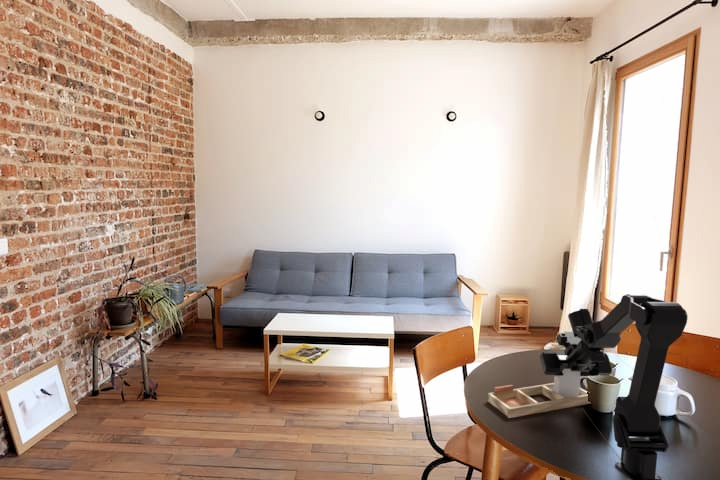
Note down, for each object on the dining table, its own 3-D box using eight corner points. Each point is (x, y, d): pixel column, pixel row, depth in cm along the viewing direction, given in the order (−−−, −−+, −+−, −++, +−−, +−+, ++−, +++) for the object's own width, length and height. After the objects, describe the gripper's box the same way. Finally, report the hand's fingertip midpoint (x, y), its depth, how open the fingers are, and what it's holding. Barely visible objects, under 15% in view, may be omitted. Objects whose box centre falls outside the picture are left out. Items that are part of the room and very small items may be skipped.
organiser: (592, 403, 131) (593, 389, 131) (509, 418, 122) (509, 404, 122) (566, 388, 141) (567, 376, 140) (487, 401, 132) (488, 388, 131)
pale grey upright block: (578, 400, 133) (581, 359, 131) (558, 400, 133) (560, 359, 131) (573, 395, 136) (575, 355, 135) (553, 394, 136) (555, 355, 135)
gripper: (610, 326, 128) (588, 349, 140) (544, 325, 128) (528, 349, 140) (623, 363, 121) (599, 385, 133) (554, 363, 121) (536, 384, 133)
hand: (565, 374), depth 135 cm, fingers closed on pale grey upright block, 6 cm apart
